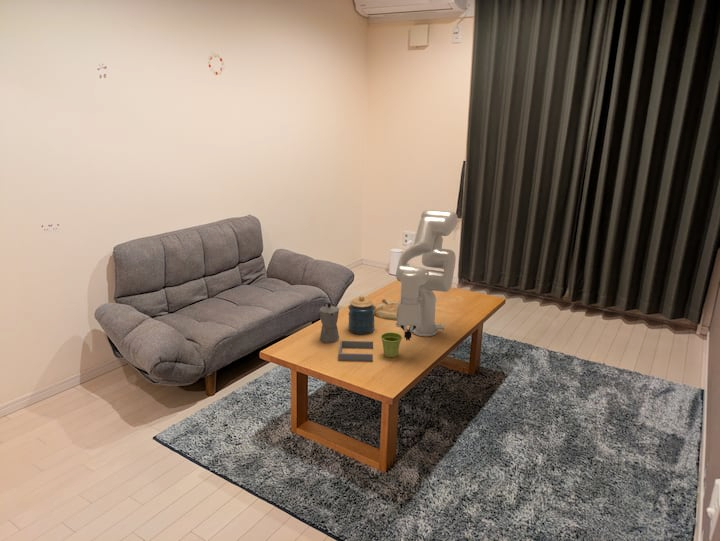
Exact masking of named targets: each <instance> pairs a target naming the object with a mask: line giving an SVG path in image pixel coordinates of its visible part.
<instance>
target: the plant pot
mask: <svg viewBox="0 0 720 541" xmlns="http://www.w3.org/2000/svg"><path fill="white" fill-rule="evenodd" d="M380 339H381V341H382V348H383V355H384V356H385V357H387V358H396V357H398V355H399V348H400V344H401V341H402V339H403V335H401V334H400V333H397V332H385V333H382V334H381V335H380Z"/></svg>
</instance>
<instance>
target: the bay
mask: <svg viewBox="0 0 720 541" xmlns="http://www.w3.org/2000/svg"><path fill="white" fill-rule="evenodd" d="M343 348H345V349H346V348H347V349H349V348H351V349H353V348H354V349H374V341H368V340H366V341H365V340H364V341H363V340H362V341H361V340H340V343H339V350H338V357H337V358H338V360H337V361H344V362H345V361H349V362H352V361H353V362H354V361H357V362H373V360H374V357H373V356H374V354H373V353H352V352H349V353H348V352H347V353H345V352H343ZM342 352H343V353H342Z"/></svg>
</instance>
